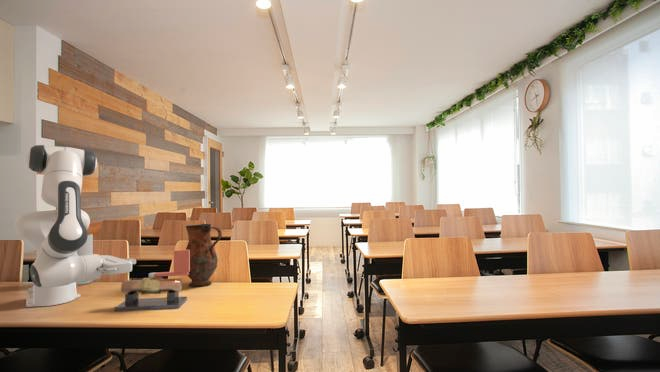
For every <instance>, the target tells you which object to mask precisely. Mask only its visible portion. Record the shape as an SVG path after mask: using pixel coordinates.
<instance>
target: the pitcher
mask: <svg viewBox="0 0 660 372" xmlns="http://www.w3.org/2000/svg"><path fill="white" fill-rule="evenodd" d="M185 228H186V232H187V235H188V242H187V245H186V248H185V250H190V272H189V274H188V275H186V276H187V277H188V278H189V279H190V280H191V282H189V283H188V286H189V287H193V288H204V287H208V286H211V285H212V281H210V280H209V279H210V278H211V277H212V275H213V274H214V273H215V272H216V269H217V267H218V260H219V259H218V256H217V252H216V250H215V246H216V245H217V244H218V243H219V241H220V240H221V238H222V236H223V233H222V230H221V229H220V228H219V227H218V226H212V224H210V223H202V224H201V223H200V224H194V225H186V226H185ZM212 229H214V230H216V231H217V234H218V235H217V238H216V240H214V242H212V238H211V232H212Z"/></svg>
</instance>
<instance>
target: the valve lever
mask: <svg viewBox="0 0 660 372" xmlns="http://www.w3.org/2000/svg"><path fill="white" fill-rule="evenodd" d="M189 272H190V250H186V249H174V250H173V271H163V272H161V271H160V272H150V273H148V278H159V277H175V276H177V277H179V276H187V275H188V274H189Z"/></svg>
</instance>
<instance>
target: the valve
mask: <svg viewBox="0 0 660 372" xmlns="http://www.w3.org/2000/svg"><path fill="white" fill-rule="evenodd" d="M182 288H183V278H182V277H181V278H164V276H158V277H155V278H149V277H143V278H142V279H134V280H133V279H131V280H130V279H129V280H123V281H122V282H121V287H120V291H121V293H122V294H125V295H124V301H123V302H121V303H120V304H118V305H116V306H115V307H114V312H130V311H131V312H132V311H150V310H152V311H153V310H173V309H180V308H181V307H182V306H183V305H184V304H185V303H186V302H187V301H188V297H187V296H179V295H180V294H179V292H182ZM163 292H164V293H166V297H147V298H146V297H145V298H142V297H141V298H139V293H140V294H141V295H157V294H159V295H160V294H162V293H163Z"/></svg>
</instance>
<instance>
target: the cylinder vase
mask: <svg viewBox="0 0 660 372" xmlns="http://www.w3.org/2000/svg"><path fill="white" fill-rule="evenodd" d="M87 234H88V237H87V241H86V242H85V244H84V245H83V246H82V247H81V248H79V249H78V250H77V255H78V256H84V255H92V254H94V235H93V233H87ZM92 282H93V281H87V282H76V287H78V286H83V285H88V284H91V283H92Z"/></svg>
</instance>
